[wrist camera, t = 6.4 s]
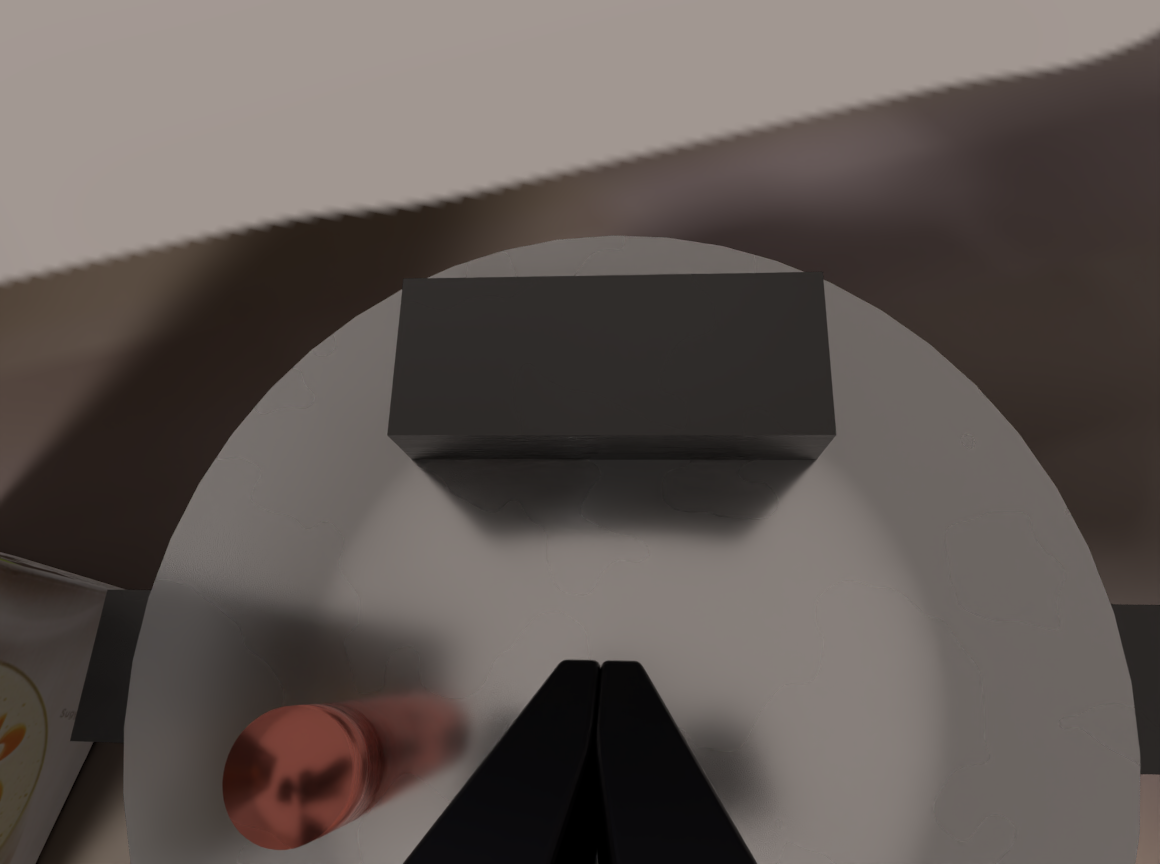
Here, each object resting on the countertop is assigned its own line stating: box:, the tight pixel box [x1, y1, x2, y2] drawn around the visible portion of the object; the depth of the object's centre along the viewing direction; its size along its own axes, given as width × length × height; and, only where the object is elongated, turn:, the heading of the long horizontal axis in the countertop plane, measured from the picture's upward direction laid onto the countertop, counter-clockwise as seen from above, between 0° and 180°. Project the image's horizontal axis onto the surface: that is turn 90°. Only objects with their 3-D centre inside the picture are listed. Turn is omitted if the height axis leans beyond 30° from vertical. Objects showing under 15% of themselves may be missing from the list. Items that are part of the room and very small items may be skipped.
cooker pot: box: [70, 590, 1160, 774], centre depth 15 cm, size 14×17×6 cm
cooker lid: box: [123, 236, 1140, 864], centre depth 10 cm, size 14×14×2 cm
